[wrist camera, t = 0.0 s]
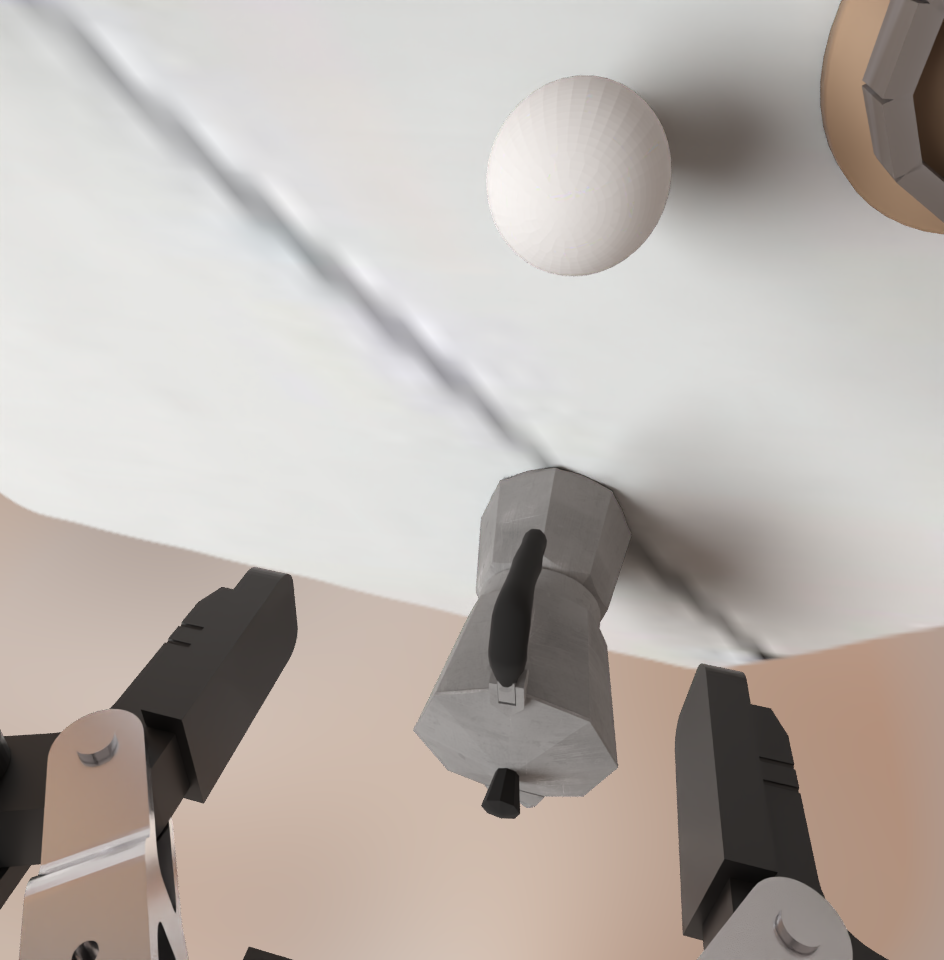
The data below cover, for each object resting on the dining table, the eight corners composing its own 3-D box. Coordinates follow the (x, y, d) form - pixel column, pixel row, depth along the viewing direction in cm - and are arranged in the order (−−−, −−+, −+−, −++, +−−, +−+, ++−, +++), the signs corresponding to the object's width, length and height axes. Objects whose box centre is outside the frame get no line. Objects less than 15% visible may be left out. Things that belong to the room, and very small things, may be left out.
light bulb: (496, 100, 27) (430, 172, 20) (632, 5, 24) (614, 48, 17) (565, 228, 30) (529, 335, 22) (695, 157, 27) (704, 252, 19)
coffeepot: (624, 601, 44) (603, 897, 31) (486, 583, 46) (411, 854, 33) (647, 409, 35) (632, 723, 21) (472, 397, 37) (357, 676, 23)
